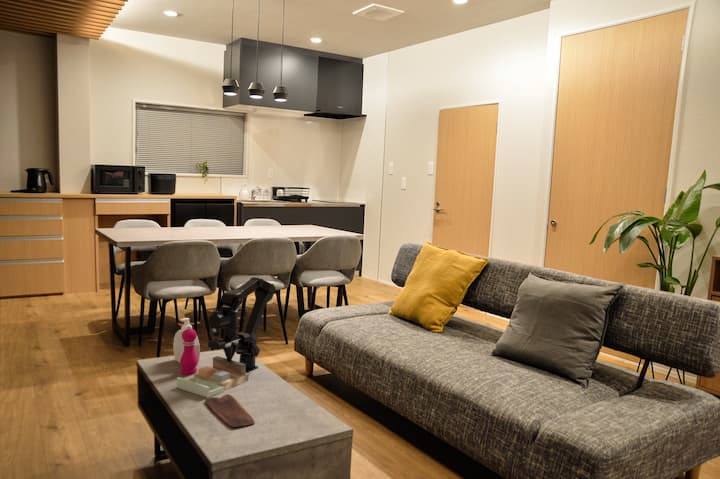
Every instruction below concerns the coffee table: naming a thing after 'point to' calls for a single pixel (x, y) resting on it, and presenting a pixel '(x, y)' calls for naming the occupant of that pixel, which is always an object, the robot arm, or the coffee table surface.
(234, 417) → the wooden tablet
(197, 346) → the soap bottle
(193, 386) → the tray
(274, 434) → the coffee table surface
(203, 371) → the terracotta tile
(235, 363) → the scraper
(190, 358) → the pepper mill
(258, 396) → the coffee table surface
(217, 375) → the grey square block
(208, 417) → the coffee table surface
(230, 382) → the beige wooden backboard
